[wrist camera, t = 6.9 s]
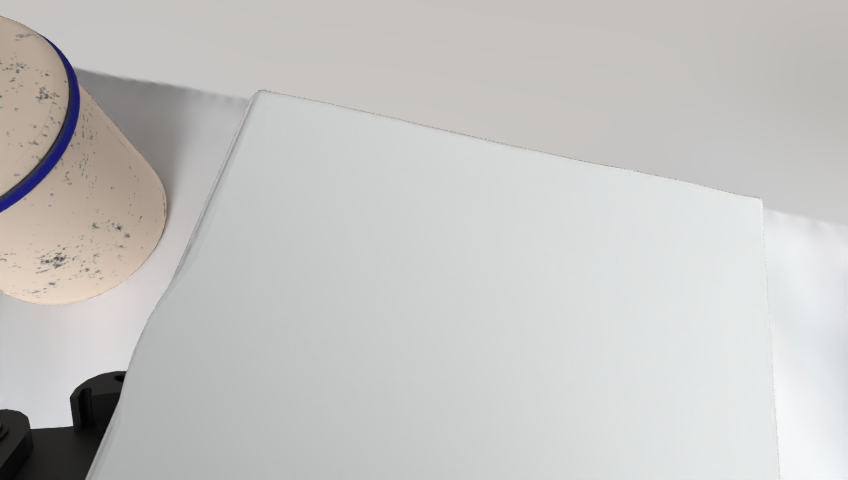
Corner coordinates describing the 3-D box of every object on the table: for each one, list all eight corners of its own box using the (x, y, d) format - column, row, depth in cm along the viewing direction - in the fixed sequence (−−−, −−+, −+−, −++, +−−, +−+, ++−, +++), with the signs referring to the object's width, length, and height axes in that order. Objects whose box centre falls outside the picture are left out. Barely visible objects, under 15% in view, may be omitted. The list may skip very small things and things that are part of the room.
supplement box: (504, 594, 18) (857, 1067, 4) (268, 536, 18) (-98, 813, 5) (535, 351, 22) (788, 188, 8) (337, 305, 22) (243, 69, 8)
